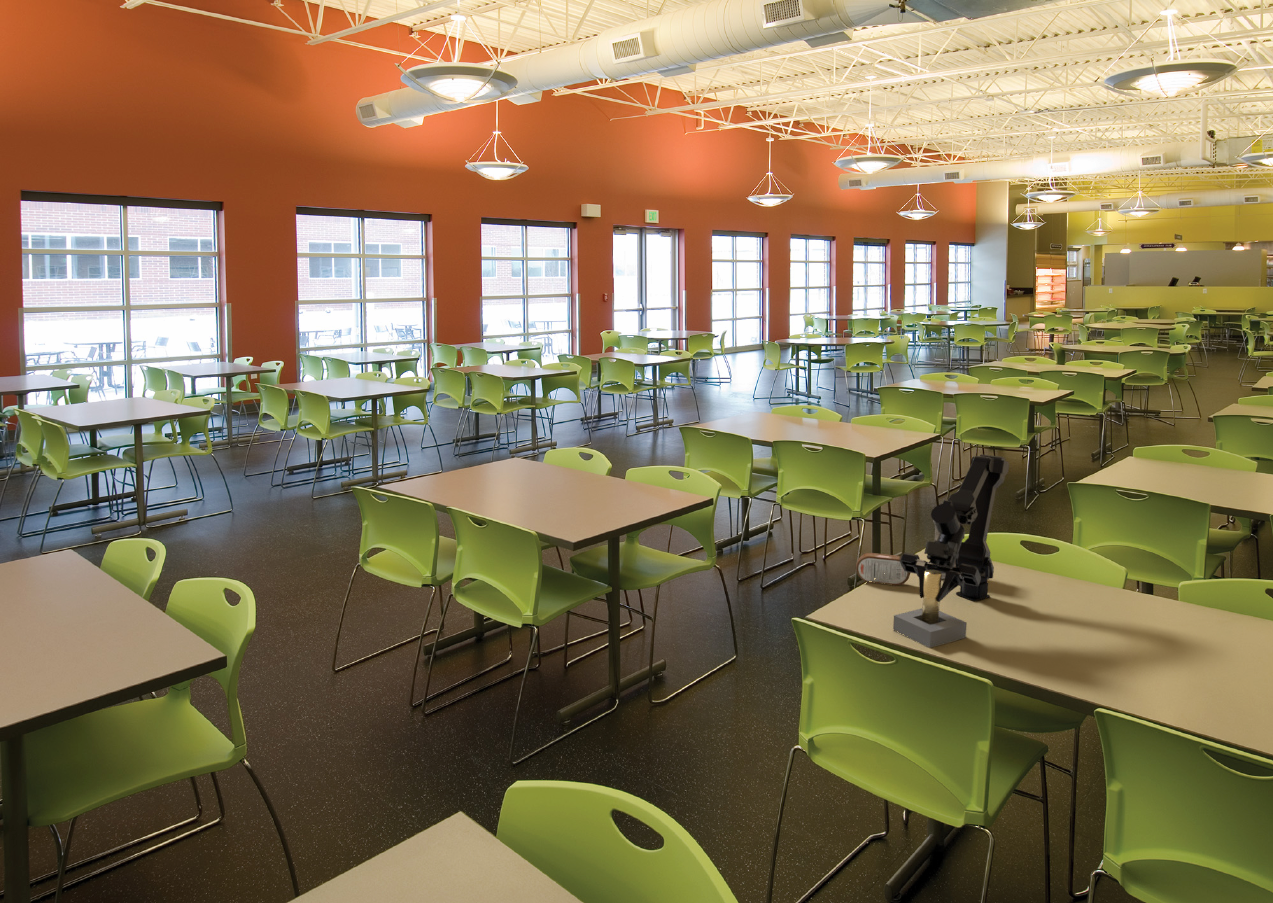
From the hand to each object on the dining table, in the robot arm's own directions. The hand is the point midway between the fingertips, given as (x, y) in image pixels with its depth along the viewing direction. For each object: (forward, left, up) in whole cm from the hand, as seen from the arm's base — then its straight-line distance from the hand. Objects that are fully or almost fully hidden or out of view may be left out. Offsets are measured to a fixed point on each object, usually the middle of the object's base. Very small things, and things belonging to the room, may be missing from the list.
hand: (929, 599), depth 221 cm
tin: (-34, +17, -10) cm, 39 cm away
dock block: (-1, +1, -9) cm, 10 cm away
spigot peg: (-1, +1, -7) cm, 7 cm away
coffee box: (-30, +38, -10) cm, 49 cm away
